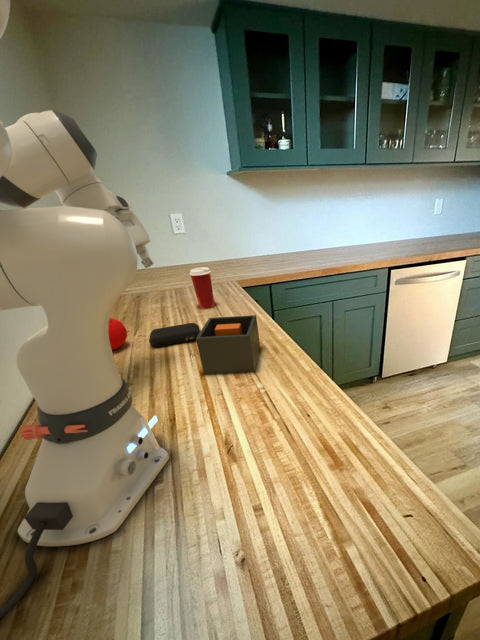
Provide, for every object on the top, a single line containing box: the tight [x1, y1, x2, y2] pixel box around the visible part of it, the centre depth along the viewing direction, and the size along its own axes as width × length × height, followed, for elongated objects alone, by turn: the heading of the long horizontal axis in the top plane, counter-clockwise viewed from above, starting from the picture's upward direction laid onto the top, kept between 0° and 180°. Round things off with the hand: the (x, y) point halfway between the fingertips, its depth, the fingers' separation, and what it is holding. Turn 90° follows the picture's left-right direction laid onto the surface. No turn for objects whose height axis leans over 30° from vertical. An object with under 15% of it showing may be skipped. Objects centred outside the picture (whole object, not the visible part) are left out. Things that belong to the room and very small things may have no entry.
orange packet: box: [215, 323, 242, 336], centre depth 86 cm, size 3×6×9 cm, turn 90°
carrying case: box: [148, 322, 201, 347], centre depth 102 cm, size 11×3×15 cm
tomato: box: [108, 317, 128, 351], centre depth 97 cm, size 10×10×10 cm
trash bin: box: [195, 314, 261, 375], centre depth 86 cm, size 14×13×10 cm
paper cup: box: [189, 266, 215, 310], centre depth 126 cm, size 8×8×14 cm
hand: (140, 270), depth 74 cm, fingers open, 8 cm apart
